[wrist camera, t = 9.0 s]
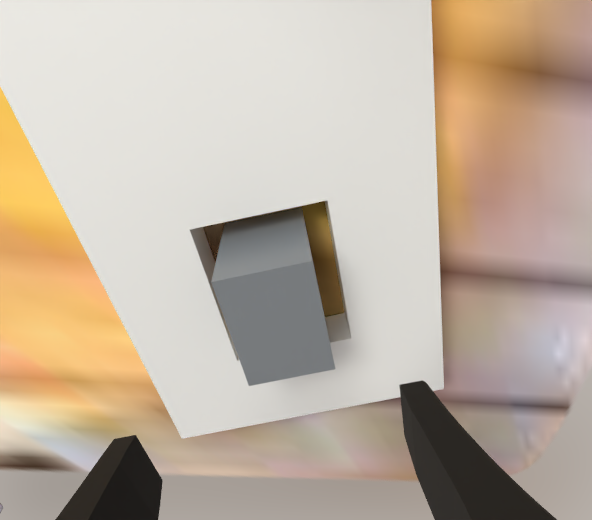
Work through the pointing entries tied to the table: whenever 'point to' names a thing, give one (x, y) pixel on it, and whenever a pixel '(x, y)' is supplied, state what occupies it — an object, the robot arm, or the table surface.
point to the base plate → (241, 176)
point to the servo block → (272, 297)
